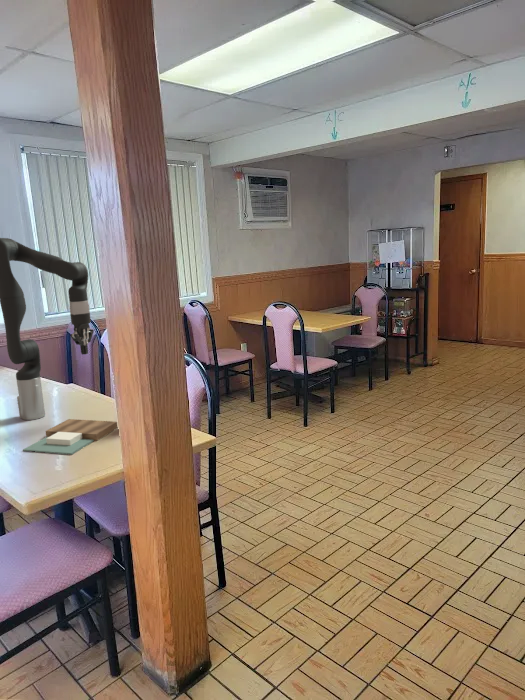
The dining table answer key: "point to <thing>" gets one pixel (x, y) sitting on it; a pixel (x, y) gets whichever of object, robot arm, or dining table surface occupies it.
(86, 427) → the board
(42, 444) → the rubber mat
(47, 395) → the dining table surface
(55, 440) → the plastic block
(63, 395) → the dining table surface
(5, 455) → the dining table surface
